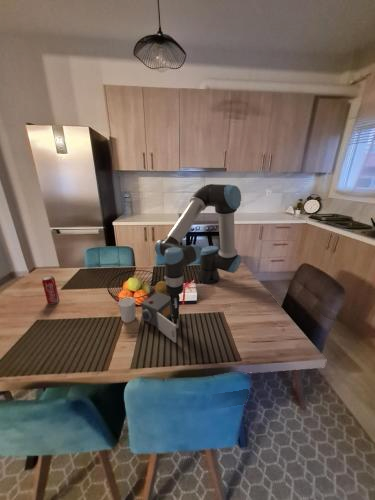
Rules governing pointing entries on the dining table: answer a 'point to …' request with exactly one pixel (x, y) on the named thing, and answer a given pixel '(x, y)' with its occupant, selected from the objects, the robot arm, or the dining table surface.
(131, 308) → the white cup
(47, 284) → the beverage can
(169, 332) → the side door
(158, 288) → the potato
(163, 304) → the camera body
